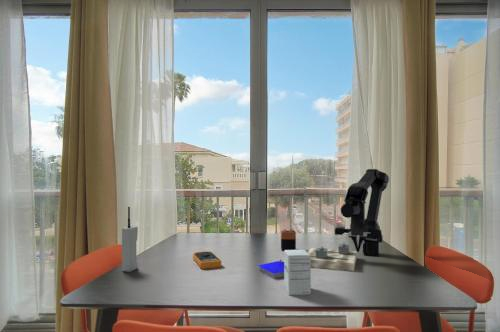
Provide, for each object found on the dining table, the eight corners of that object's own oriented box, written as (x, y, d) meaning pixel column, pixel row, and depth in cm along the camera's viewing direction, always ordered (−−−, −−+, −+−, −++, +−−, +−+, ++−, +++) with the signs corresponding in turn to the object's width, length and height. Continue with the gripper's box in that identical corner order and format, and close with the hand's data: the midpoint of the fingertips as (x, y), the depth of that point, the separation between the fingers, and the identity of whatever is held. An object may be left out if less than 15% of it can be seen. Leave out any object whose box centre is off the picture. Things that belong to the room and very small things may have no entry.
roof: (273, 280, 124) (273, 265, 124) (257, 271, 134) (257, 257, 134) (300, 275, 129) (300, 260, 129) (283, 267, 140) (283, 253, 140)
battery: (295, 251, 165) (295, 230, 165) (281, 251, 165) (281, 230, 165) (294, 248, 170) (294, 228, 170) (280, 249, 169) (280, 228, 169)
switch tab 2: (349, 251, 150) (349, 242, 150) (348, 254, 146) (348, 245, 146) (339, 251, 152) (339, 242, 152) (338, 253, 147) (338, 244, 147)
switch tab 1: (327, 255, 144) (327, 246, 144) (325, 258, 139) (325, 249, 139) (317, 254, 145) (317, 245, 145) (315, 257, 140) (315, 248, 140)
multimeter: (210, 257, 156) (210, 249, 156) (222, 268, 139) (222, 259, 139) (191, 259, 152) (191, 251, 152) (201, 270, 136) (201, 262, 136)
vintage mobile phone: (138, 268, 138) (137, 205, 138) (129, 272, 133) (129, 207, 133) (130, 267, 139) (130, 205, 139) (121, 271, 134) (121, 206, 134)
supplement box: (283, 287, 115) (283, 249, 115) (305, 286, 116) (305, 249, 116) (288, 295, 108) (287, 255, 108) (311, 294, 109) (311, 254, 109)
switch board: (356, 258, 152) (356, 251, 152) (353, 271, 133) (353, 263, 133) (311, 254, 158) (311, 247, 158) (302, 266, 140) (302, 258, 140)
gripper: (333, 216, 142) (333, 254, 142) (381, 218, 136) (381, 258, 136) (335, 213, 153) (336, 248, 153) (381, 215, 146) (381, 251, 146)
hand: (357, 251), depth 147 cm, fingers closed
